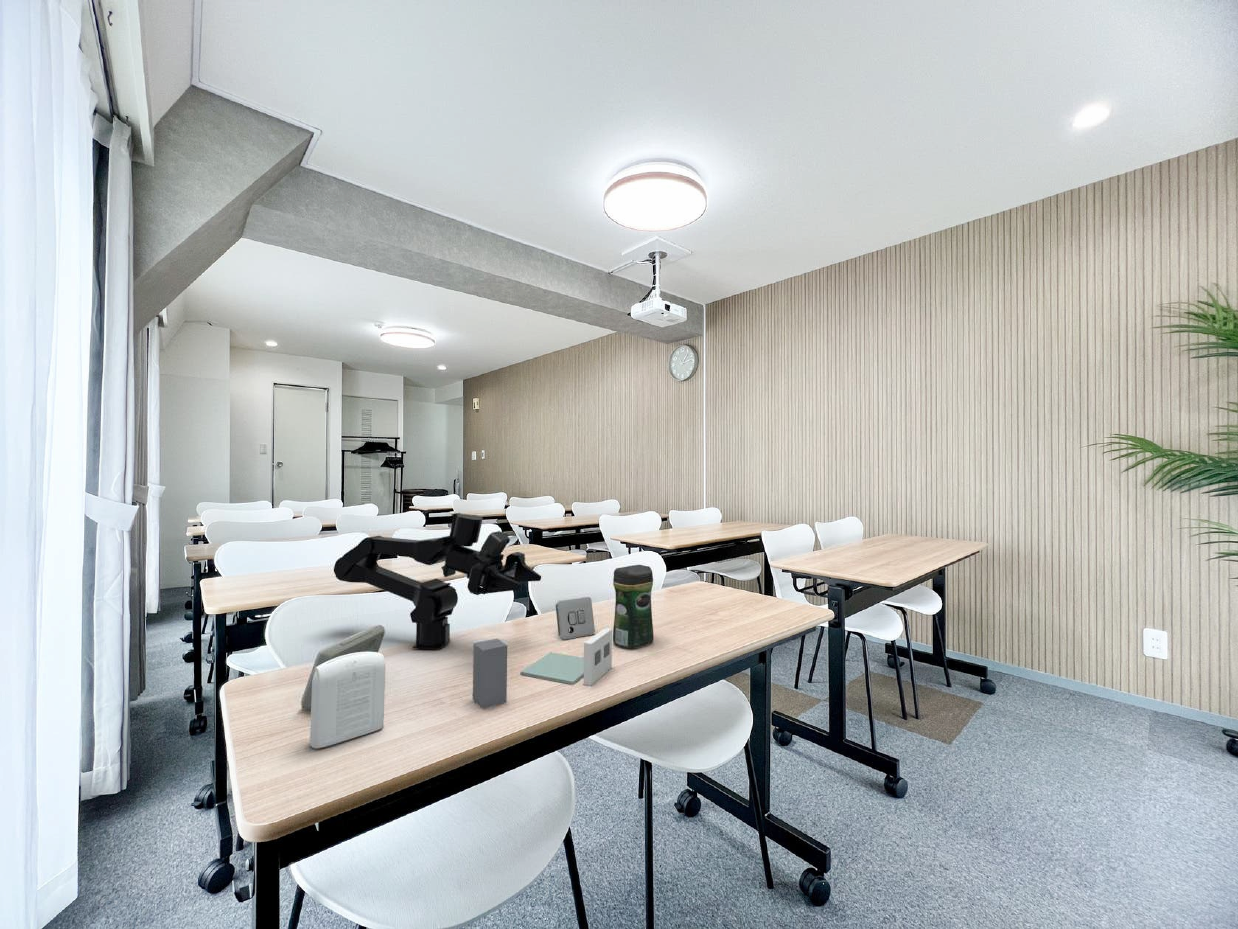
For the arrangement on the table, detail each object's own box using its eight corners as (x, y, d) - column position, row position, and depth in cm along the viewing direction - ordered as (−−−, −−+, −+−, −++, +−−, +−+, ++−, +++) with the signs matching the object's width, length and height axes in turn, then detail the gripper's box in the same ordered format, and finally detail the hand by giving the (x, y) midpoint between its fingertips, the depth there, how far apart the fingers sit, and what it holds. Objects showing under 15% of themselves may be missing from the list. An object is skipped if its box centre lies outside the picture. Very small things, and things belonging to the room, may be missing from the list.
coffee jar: (636, 635, 126) (637, 561, 126) (658, 643, 120) (659, 566, 120) (606, 643, 120) (607, 565, 120) (628, 652, 114) (629, 570, 114)
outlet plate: (582, 684, 96) (583, 642, 97) (604, 666, 106) (604, 628, 106) (591, 686, 96) (592, 644, 96) (612, 667, 105) (612, 629, 105)
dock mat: (520, 674, 101) (520, 671, 101) (550, 655, 112) (550, 652, 112) (573, 685, 96) (573, 681, 96) (599, 663, 107) (599, 660, 107)
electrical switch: (561, 641, 121) (560, 602, 122) (553, 637, 125) (552, 599, 126) (595, 635, 126) (594, 597, 127) (586, 631, 130) (585, 595, 131)
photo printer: (378, 719, 82) (380, 643, 82) (388, 729, 79) (389, 650, 79) (306, 742, 75) (308, 659, 75) (313, 754, 72) (315, 667, 72)
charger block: (472, 699, 90) (473, 643, 90) (496, 692, 92) (497, 638, 93) (482, 709, 86) (482, 650, 86) (506, 702, 89) (507, 645, 89)
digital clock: (366, 674, 100) (367, 620, 101) (400, 681, 97) (401, 626, 97) (286, 709, 85) (287, 646, 86) (323, 719, 82) (324, 654, 82)
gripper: (453, 533, 105) (518, 553, 100) (500, 524, 123) (557, 541, 118) (442, 584, 106) (506, 607, 101) (491, 568, 123) (546, 587, 119)
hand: (531, 582), depth 110 cm, fingers open, 9 cm apart
